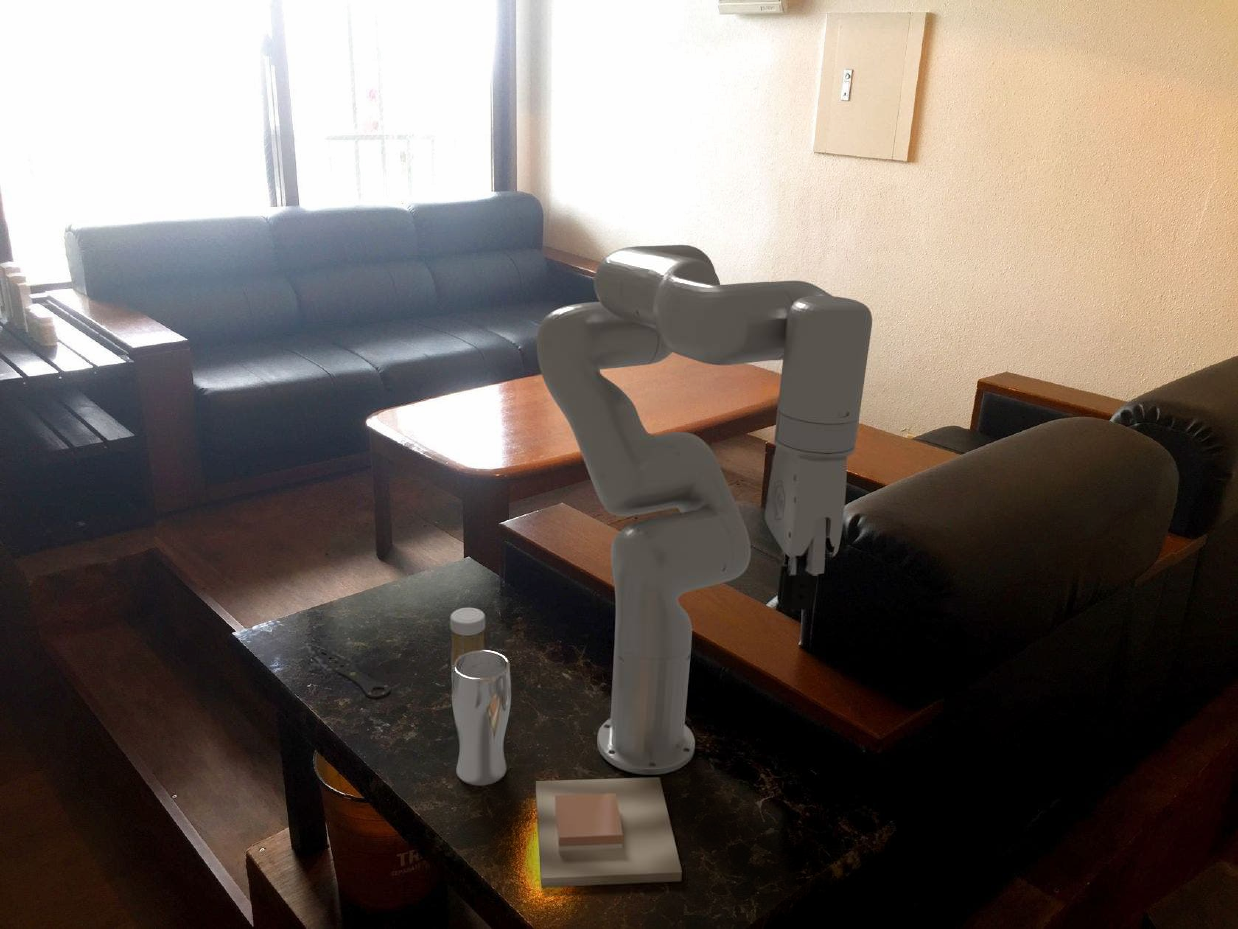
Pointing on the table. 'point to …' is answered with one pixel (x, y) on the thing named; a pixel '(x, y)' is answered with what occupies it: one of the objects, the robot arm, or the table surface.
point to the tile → (588, 822)
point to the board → (642, 826)
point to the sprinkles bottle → (466, 633)
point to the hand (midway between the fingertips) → (794, 605)
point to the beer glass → (481, 714)
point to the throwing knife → (347, 670)
